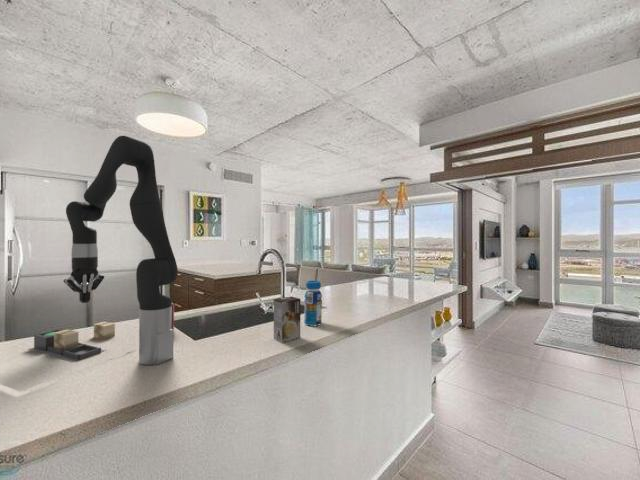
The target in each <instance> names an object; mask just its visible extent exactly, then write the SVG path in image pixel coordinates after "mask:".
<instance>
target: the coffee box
mask: <svg viewBox="0 0 640 480" xmlns="http://www.w3.org/2000/svg"><path fill="white" fill-rule="evenodd" d="M296 338H297V339H301V298H299V297H295V296H286V297H281V298H274V299H273V340H275V339H276V341H277V340H278V342H279V341H280V343H281V342H283V343H286V341H287V342H290V341H293V339H294V340H297V339H296Z"/></svg>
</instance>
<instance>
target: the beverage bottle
mask: <svg viewBox="0 0 640 480" xmlns="http://www.w3.org/2000/svg"><path fill="white" fill-rule="evenodd" d="M321 284H322V283H321V281H319V280H307V281H306V285H305V286H306V289H307V290H306V291H305V293H304V300H303V301H304V302H303V304H304V319H303V323H304V325H305V324H306V326H308V325H310V326H309V327H314V326H313V325H318V326H320V325H322V316H323V315H322V312H323V311H322V308H323V300H322V298H323V294H322V292H321V291H320V289H321V286H322V285H321ZM319 324H320V325H319Z"/></svg>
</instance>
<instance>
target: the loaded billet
mask: <svg viewBox="0 0 640 480" xmlns="http://www.w3.org/2000/svg"><path fill="white" fill-rule="evenodd" d="M62 330H63V331H59V332H55V333H54V348H58V349H61V350H65V349H68V348H72V347H75V346H78V342H79V331H76V330H73V329H62Z"/></svg>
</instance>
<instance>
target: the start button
mask: <svg viewBox="0 0 640 480" xmlns="http://www.w3.org/2000/svg"><path fill="white" fill-rule="evenodd" d="M54 333H55V332H51V333H47V334H45V335H44V336H47V337H49V336H53V335H54Z"/></svg>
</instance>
